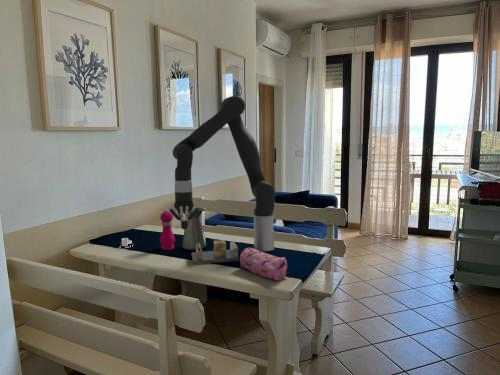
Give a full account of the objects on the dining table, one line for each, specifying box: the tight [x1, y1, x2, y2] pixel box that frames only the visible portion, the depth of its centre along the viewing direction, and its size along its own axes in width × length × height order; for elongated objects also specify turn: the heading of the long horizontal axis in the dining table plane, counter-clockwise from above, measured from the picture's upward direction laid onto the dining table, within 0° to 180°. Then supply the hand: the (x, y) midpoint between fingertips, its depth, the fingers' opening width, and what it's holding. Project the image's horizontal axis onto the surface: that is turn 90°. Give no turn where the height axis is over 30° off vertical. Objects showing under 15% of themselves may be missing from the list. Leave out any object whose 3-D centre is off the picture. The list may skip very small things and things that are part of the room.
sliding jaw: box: [195, 241, 203, 259], centre depth 166 cm, size 2×10×5 cm, turn 12°
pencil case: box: [239, 247, 290, 281], centre depth 149 cm, size 21×9×9 cm, turn 46°
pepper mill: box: [159, 208, 176, 251], centre depth 181 cm, size 7×7×20 cm
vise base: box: [191, 241, 240, 265], centre depth 168 cm, size 20×12×6 cm, turn 102°
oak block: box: [213, 239, 227, 257], centre depth 168 cm, size 5×5×6 cm
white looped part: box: [118, 237, 134, 249], centre depth 188 cm, size 9×8×4 cm
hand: (184, 228), depth 163 cm, fingers closed
